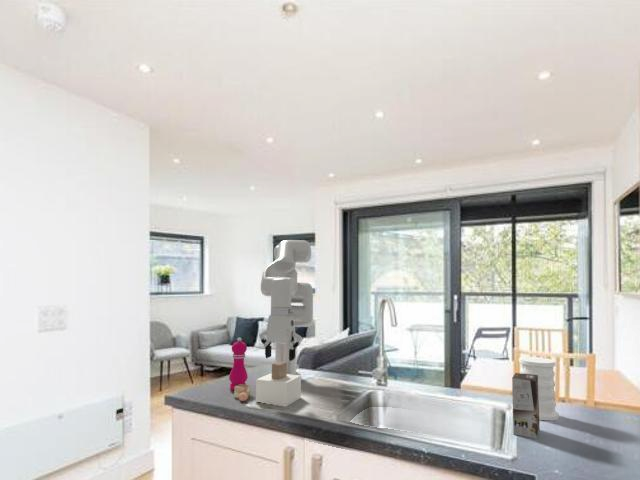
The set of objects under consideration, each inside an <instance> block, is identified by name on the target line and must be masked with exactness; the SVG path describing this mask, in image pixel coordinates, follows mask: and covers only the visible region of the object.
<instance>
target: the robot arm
mask: <svg viewBox="0 0 640 480" xmlns="http://www.w3.org/2000/svg"><path fill="white" fill-rule="evenodd" d="M273 256H274V261H273V262H271V263H270V264H269V265H267V267H266V268H265V269H264V270H263V272H262V276H261V281H260V292H261V293H262V295H263V296H265V297H270V314H269V315H268V319H267V323H266V330H265V331H262V332H261V333H259V338H260V341H261V343H262V345H263V347H264V356H265V358H266V359H268V358H271V357H272V344H275V353H274V354H275V356H274V364H275V363H277V362H287V374H291V375H300V373H299V372H298V371H297V369H299V367H300V366H299V364H297V348H298V346H300V345H301V342H302V340H303V337H302V336H301V335H300V334H298V333H297V332H296V328H307V327H311V325H312V324H313V321H314V289H313V287H312V285H311V284H310V283H308V282H299V281H298V271H297V269H296V263H309V262H310V261H311V257H312V247H311V244H310V242H309V241H307V240H305V239H301V240H300V239H286V240H284V239H283V240H282V241H280V242H279V243H278V245H276V246H275V247H274V249H273ZM292 304H302V305H292ZM265 336H266V337H265ZM300 376H301V375H300Z"/></svg>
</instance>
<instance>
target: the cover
mask: <svg viewBox="0 0 640 480" xmlns="http://www.w3.org/2000/svg"><path fill="white" fill-rule="evenodd" d="M255 382H256V383H255V385H256V387H255V403H257V402H261V403H260V404H263V403H266V404H265V405H270V404H273V405H272V406H277V405H278V406H279V407H285V408H287V407H288V406H290V405H292V404H293V403H295V402H296V401H298V400H300V399H301V398H302V394H301V393H302V392H301V391H302V375H291V374H287V362H277V363H275V362H274V363H273V364H271V372H270V373H269V374H266V375H263V376H260V377H259V378H257V379H256V381H255Z"/></svg>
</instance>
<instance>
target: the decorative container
mask: <svg viewBox="0 0 640 480" xmlns="http://www.w3.org/2000/svg"><path fill="white" fill-rule="evenodd" d="M518 363H520V364H521V367H520V373H521V374H533V375H538V398H539V421H541V420H555V421H558V420H559V419H560V417H559V416H560V414H559V412H557V411H556V405H557V402H556V400H555V397H556V391H555V386H556V382H555V380H554V379H555V375H556V372H555V370H554V367H556V365H557V362H556V360H554V359H552V358H546V357H541V356H540V357H538V356H520V357H519V359H518ZM557 419H558V420H557Z"/></svg>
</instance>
